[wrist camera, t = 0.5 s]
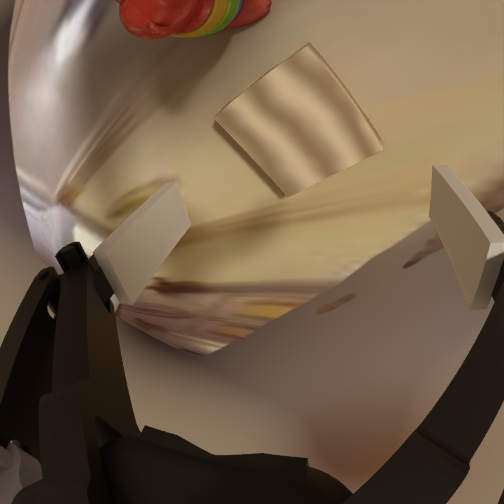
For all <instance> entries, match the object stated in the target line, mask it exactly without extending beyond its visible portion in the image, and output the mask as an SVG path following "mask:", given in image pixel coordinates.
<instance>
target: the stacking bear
mask: <svg viewBox="0 0 504 504" xmlns="http://www.w3.org/2000/svg"><path fill="white" fill-rule="evenodd" d="M116 1H117V2H118V3H120V7H119V13H120V19H121V22H122V24H123V26H124V27H125V28H126V30H127V31H129V32H130V33H131V34H133V35H135V36H137V37H140V38H145V39H158V38H163V37H166V36H173V37H183V38H196V37H203V36H207V35H211V34H213V33H216V32H218V31H220V30H222V29H228V28H235V27H240V26H243V25H246V24H249V23H252V22H254V21H256V20H258V19H260V18H262V17H263V16H265V15H266V14H267V13H268V12H269V11H270V6H271V0H116Z"/></svg>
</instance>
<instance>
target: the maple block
mask: <svg viewBox="0 0 504 504" xmlns="http://www.w3.org/2000/svg"><path fill="white" fill-rule="evenodd" d="M213 118H214V119H215V120H216V121H217V122H218V123H219V124H220V125H221V126H222V127H223V128H224V129H225V130H226V131H227V132H228V133H229V135H230V136H231V137H232V138H233V139H234V140H235V141H236V142H237V143H238V144H239V145H240V146H241V147H242V148H243V149H244V150H245V151H246V152H247V153H248V154H249V155H250V156H251V158H252V159H253V160H254V161H255V162H256V163H257V164H258V165H259V166H260V167H261V168H262V169H263V170H264V172H265V173H266V174H267V175H268V176H269V177H270V178H271V179H272V180H273V181H274V182H275V184H276V185H277V186H278V187H279V188H280V189H281V190H282V191H283V192H284V194H285V195H286V196H287V197H289V196H291V195H293V194H295V193H297V192H299V191H301V190H303V189H305V188H307V187H309V186H311V185H313V184H315V183H317V182H319V181H321V180H323V179H325V178H327V177H329V176H331V175H333V174H335V173H337V172H339V171H341V170H343V169H345V168H347V167H350V166H352V165H354V164H356V163H358V162H360V161H362V160H364V159H366V158H368V157H370V156H372V155H374V154H376V153H379V152H381V151H383V147H382V141H381V138H380V136H379V134H378V133H377V131H376V130H375V128H374V127H373V125H372V124H371V122H370V121H369V119H368V118H367V116H366V115H365V113H364V112H363V110H362V109H361V107H360V106H359V104H358V103H357V102H356V100H355V99H354V97H353V96H352V95H351V93H350V92H349V91H348V89H347V88H346V87H345V85H344V84H343V83H342V81H341V80H340V79H339V77H338V76H337V75H336V73H335V72H334V71H333V70H332V68H331V67H330V66H329V65H328V63H327V62H326V61H325V60H324V59H323V57H322V56H321V55H320V54H319V53H318V51H317V50H316V49H315V48H314V47H313V46H312V44H311V43H308V44H307V45H305V46H304V47H302V48H301V49H299V50H298V51H296V52H295V53H293V54H292V55H290V56H289V57H288V58H286V59H285V60H283V61H282V62H281V63H279V64H278V65H276V66H275V67H274V68H272V69H271V70H270V71H268V72H267V73H266V74H264V75H263V76H262V77H260V78H259V79H258V80H257V81H255V82H254V83H253V84H251V85H250V86H249V87H248V88H246V89H245V90H244V91H243V92H241V93H240V94H239V95H238V96H236V97H235V98H234V99H233V100H232V101H230V102H229V103H228V104H227V105H226V106H224V107H223V108H222V109H221V110H220V111H219V112H218V113H217V114H216V115H215V116H214V117H213Z"/></svg>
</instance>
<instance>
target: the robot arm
mask: <svg viewBox="0 0 504 504" xmlns="http://www.w3.org/2000/svg"><path fill="white" fill-rule="evenodd" d="M429 217H430V219H431V221H432V223H433V225H434V227H435V229H436V231H437V233H438V235H439V237H440V239H441V241H442V243H443V246H444V248H445V250H446V252H447V254H448V257H449V259H450V261H451V264H452V266H453V269H454V271H455V273H456V276H457V278H458V280H459V283H460V286H461V289H462V291H463V294H464V297H465V299H466V302H467V305H468V308H469V310H479V309H486V308H487V307H488V304H489V302H490V299H491V297H493V299H494V301H495V303H494V305H493V307H492V309H491V311H490V314H489V316H488V318H487V320H486V322H485V324H484V326H483V328H482V330H481V332H480V334H479V335H478V337H477V339H476V341H475V343H474V345H473V346H472V348H471V350H470V352H469V354H468V355H467V357H466V359H465V360H464V362H463V364H462V365H461V367H460V369H459V370H458V372H457V374H456V375H455V377H454V378H453V380H452V381H451V383H450V384H449V386H448V387H447V389H446V390H445V392H444V393H443V395H442V396H441V397H440V399H439V400H438V402H437V403H436V405H435V406H434V407H433V409H432V410H431V411H430V413H429V414H428V415H427V416H426V418H425V419H424V420H423V422H422V423H421V424H420V425H419V427H418V428H417V429H416V430H415V431H414V432H413V433H412V434H411V435H410V436H409V437H408V439H407V440H406V441H405V442H404V443H403V444H402V445H401V447H400V448H399V449H398V450H397V451H396V452H395V453H394V454H393V455H392V457H391V458H390V459H389V460H388V461H387V462H386V463H385V464H384V465H383V466H382V467H381V468H380V469H379V470H378V471H377V472H376V473H375V474H374V475H373V476H372V477H371V478H370V479H369V480H368V481H367V482H366V483H365V484H364V485H363V486H362V487H360V489H358V490H357V491H356V492H355V493H354V494H353V493H352V492H351V491H350V490H349V489H348V488H347V487H346V486H345V485H344V484H342V483H341V482H340V481H339V480H337V479H336V478H334V477H332V476H330V475H329V474H327V473H325V472H323V471H320V470H318V469H315V468H312V467H309V463H308V458H300V457H290V456H280V455H272V454H264V453H259V454H258V453H257V454H242V455H213V454H210V453H208V452H207V451H205V450H203V449H201V448H199V447H197V446H196V445H194V444H192V443H190V442H188V441H187V440H185V439H183V438H181V437H180V436H178V435H175V434H171V433H168V432H165V431H161V430H158V429H155V428H152V427H149V426H146V425H145V426H144V428H143V430H142V432H140V430H139V428H138V426H137V424H136V420H135V416H134V413H133V408H132V404H131V400H130V396H129V391H128V387H127V382H126V377H125V372H124V367H123V362H122V356H121V352H120V345H119V339H118V333H117V325H116V318H115V310H114V304H113V302H112V301H111V299H110V298H111V297H112V296H113V294H115V295H116V297H117V299H118V301H119V302H120V304H129V305H133V304H134V303H135V301H136V300H137V298H138V297H139V295H140V294H141V292H142V291H143V290H144V288H145V287H146V285H147V284H148V283H149V281H150V280H151V278H152V277H153V276H154V274H155V273H156V271H157V270H158V269H159V267H160V266H161V264H162V263H163V262H164V260H165V259H166V258H167V256H168V255H169V254H170V252H171V251H172V249H173V248H174V247H175V245H176V244H177V243H178V241H179V240H180V239H181V237H182V236H183V235H184V234H185V232H186V231H187V230H188V228H189V227H190V226H191V223H190V220H189V217H188V214H187V211H186V208H185V205H184V201H183V198H182V195H181V192H180V189H179V185H178V182H171V183H166V184H164V185H163V186H162V187H161V188H160V189H159V190H158V191H156V192H155V193H154V194H153V195H152V196H151V197H150V198H149V199H147V200H146V201H145V202H144V203H143V204H142V205H141V206H140V207H139V208H138V209H137V210H135V211H134V212H133V213H132V214H131V215H130V216H129V217H128V218H127V219H126V220H125V221H124V222H123V223H122V224H121V225H120V226H119V227H118V228H116V229H115V230H114V231H113V232H112V233H111V234H110V235H109V236H108V237H107V238H106V239H105V240H104V241H103V242H102V243H101V244H100V245H99V246H98V247H97V248H96V249H95V251H94V252H93V255H92V256H91V257H90V258H89V259H88V257H87V256H86V254H85V252H84V250H83V248H82V246H81V244H80V242H73V243H70V244H68V245H66V246H65V247H63V248H62V249H61V250H60V251H59V252H58V253H57V254H56V256H55V257H56V259H57V261H58V262H59V264H60V266H61V268H62V270H63V271H64V274H60V275H58V274H57V272H56V270H55V268H54V267H48V268H46V269H43V270H41V271H40V272H39V273H38V275H37V276H36V277H35V278H34V280H33V282H32V283H31V285H30V287H29V289H28V291H27V293H26V295H25V297H24V299H23V300H22V302H21V304H20V306H19V308H18V310H17V312H16V314H15V316H14V319H13V321H12V322H11V325H10V327H9V329H8V331H7V334H6V336H5V338H4V340H3V342H2V345H1V347H0V504H446V503H447V502H448V501H449V499H450V498H451V497H452V496H453V494H454V493H455V492H456V490H457V489H458V488H459V486H460V485H461V483H462V482H463V480H464V479H465V477H466V476H467V473H468V471H469V469H470V465H469V463H470V460H471V458H472V457H473V455H474V453H475V452H476V450H477V448H478V447H479V445H480V444H481V442H482V440H483V438H484V437H485V435H486V433H487V431H488V430H489V428H490V426H491V424H492V423H493V421H494V419H495V417H496V415H497V413H498V411H499V409H500V407H501V405H502V403H503V401H504V222H503V221H502V220H501V219H500V217H498V216H497V215H495V214H494V213H493V212H491V211H486V210H485V209H484V208H483V206H482V205H481V204H480V203H479V201H478V200H477V199H476V198H475V197H474V195H473V194H472V193H471V192H470V191H469V189H468V188H467V187H466V186H465V185H464V184H463V183H462V181H461V180H460V179H459V178H458V177H457V176H456V175H455V174H454V173H453V172H452V170H451V169H450V168H449V167H448V166H447V165H433V167H432V187H431V200H430V211H429ZM47 306H49V308H50V309H51V311H52V312H53V313H54V315H55V316H54V318H52V317H51V316H50V315H49V313H48V309H47ZM10 441H12V442H13V443H11V442H10ZM498 504H504V490H503V492H502V495H501V497H500V500H499V502H498Z"/></svg>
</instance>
